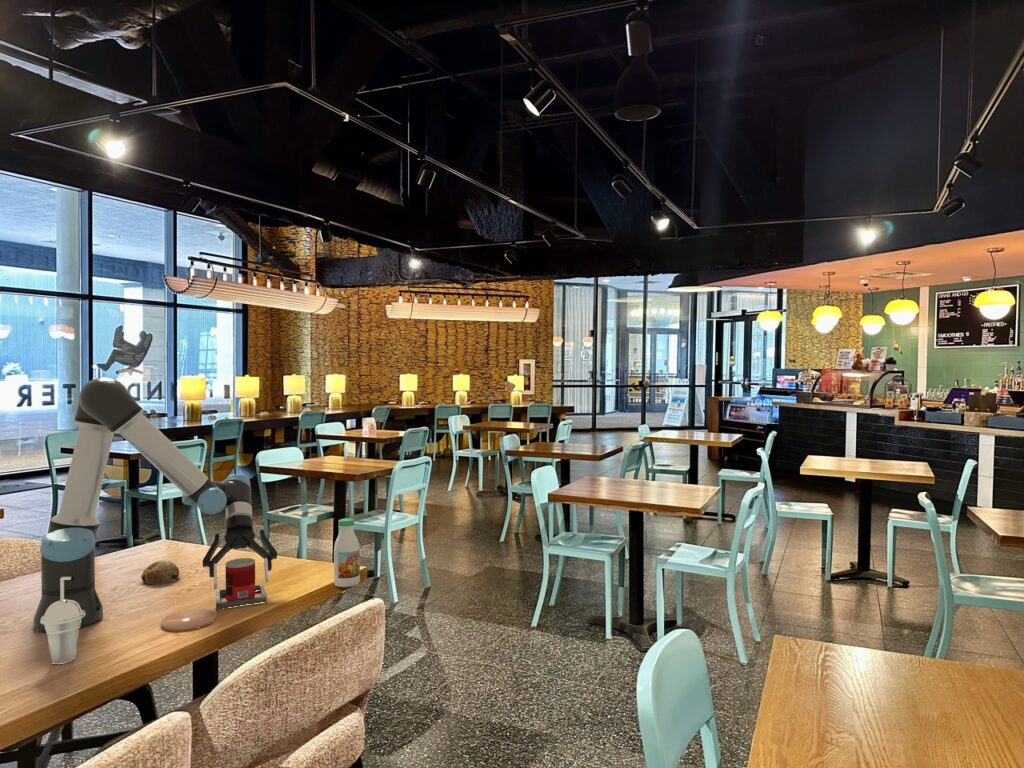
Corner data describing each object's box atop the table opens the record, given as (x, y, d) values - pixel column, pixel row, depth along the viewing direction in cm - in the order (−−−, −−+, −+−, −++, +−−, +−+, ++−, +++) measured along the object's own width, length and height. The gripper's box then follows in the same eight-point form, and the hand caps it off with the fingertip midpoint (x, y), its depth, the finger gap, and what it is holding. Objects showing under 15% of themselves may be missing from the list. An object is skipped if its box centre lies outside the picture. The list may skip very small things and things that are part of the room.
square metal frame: (266, 603, 187) (266, 597, 187) (215, 610, 181) (215, 603, 181) (263, 589, 198) (263, 583, 198) (215, 595, 193) (215, 589, 193)
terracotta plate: (180, 635, 164) (180, 631, 164) (149, 624, 171) (149, 621, 171) (226, 618, 175) (226, 614, 175) (196, 609, 182) (196, 606, 182)
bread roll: (161, 597, 203) (172, 574, 203) (131, 583, 203) (142, 559, 203) (178, 587, 213) (188, 564, 213) (149, 573, 213) (160, 551, 213)
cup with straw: (87, 650, 155) (86, 565, 155) (83, 665, 147) (83, 575, 147) (43, 657, 151) (42, 570, 151) (37, 673, 143) (36, 581, 143)
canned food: (261, 596, 193) (260, 558, 192) (242, 605, 185) (242, 566, 185) (238, 594, 195) (238, 557, 195) (219, 603, 187) (219, 564, 187)
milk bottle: (329, 586, 201) (329, 521, 201) (341, 579, 209) (341, 516, 208) (352, 588, 199) (352, 522, 199) (364, 581, 207) (363, 517, 207)
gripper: (281, 523, 209) (286, 584, 196) (194, 531, 199) (193, 595, 185) (283, 509, 204) (288, 571, 191) (193, 517, 194) (192, 582, 181)
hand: (241, 583), depth 188 cm, fingers open, 13 cm apart
